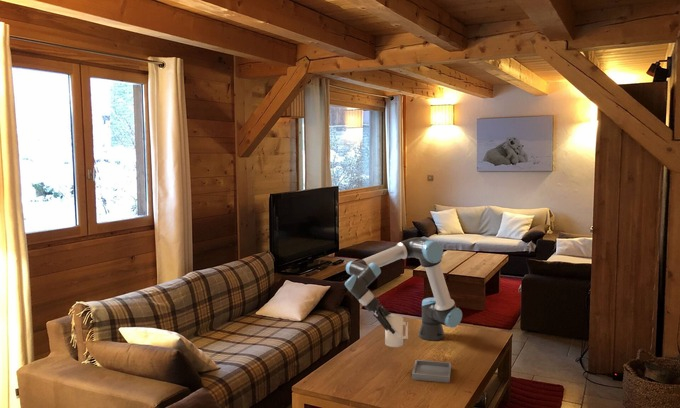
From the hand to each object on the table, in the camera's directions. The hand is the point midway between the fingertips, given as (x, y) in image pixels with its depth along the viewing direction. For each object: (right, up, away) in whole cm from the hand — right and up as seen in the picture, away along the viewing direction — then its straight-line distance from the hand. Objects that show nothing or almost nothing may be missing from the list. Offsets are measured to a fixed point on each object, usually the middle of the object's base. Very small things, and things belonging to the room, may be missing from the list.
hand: (400, 334), depth 285 cm
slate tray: (+15, -19, -3) cm, 25 cm away
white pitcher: (-2, -5, +1) cm, 6 cm away
